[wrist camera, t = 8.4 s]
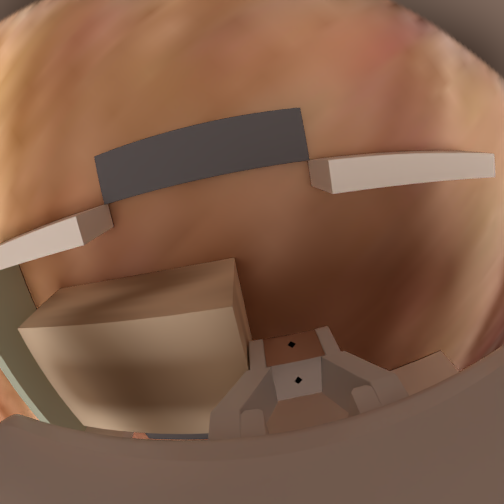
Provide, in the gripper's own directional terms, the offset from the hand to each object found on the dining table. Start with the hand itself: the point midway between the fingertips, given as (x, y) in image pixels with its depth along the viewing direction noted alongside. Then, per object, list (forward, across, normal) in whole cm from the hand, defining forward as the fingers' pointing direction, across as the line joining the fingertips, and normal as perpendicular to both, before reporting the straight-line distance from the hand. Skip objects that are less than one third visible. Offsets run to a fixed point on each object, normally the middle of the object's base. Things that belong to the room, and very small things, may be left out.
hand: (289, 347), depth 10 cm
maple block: (+2, -6, 0) cm, 7 cm away
